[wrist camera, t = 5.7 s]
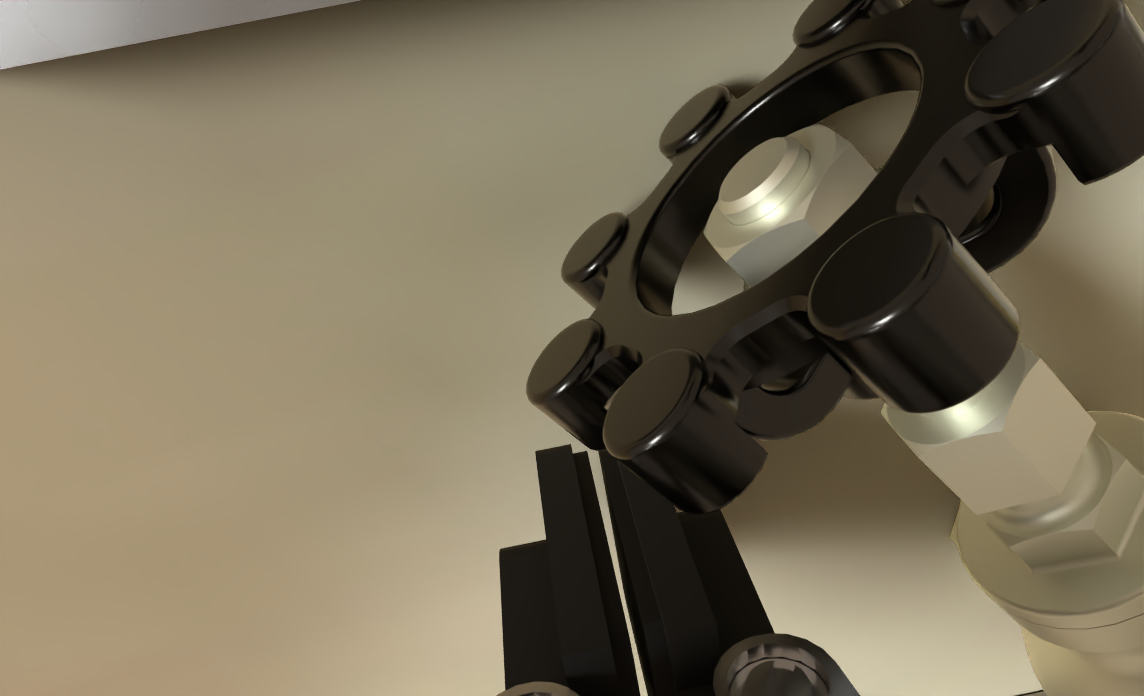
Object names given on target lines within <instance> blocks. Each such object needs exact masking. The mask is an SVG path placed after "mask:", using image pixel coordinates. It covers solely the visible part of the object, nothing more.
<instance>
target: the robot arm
mask: <svg viewBox="0 0 1144 696" xmlns="http://www.w3.org/2000/svg"><path fill="white" fill-rule="evenodd" d="M598 451H599V457H600V463H601V468H602V474H603V479H604V485H605V490H606V496H607V501H608V507H609V512H610V518H611V523H612V529H613V534H614V540H615V545H616V551H617V557H618V562H619V568H620V573H621V579H622V584H623V589H624V594H625V599H626V604H627V609H628V613H629V617H630V621H631V626H632V630H633V634H634V638H635V643H636V647H637V651H638V656H639V660H640V664H641V668H642V673H643V677H644V681H645V685H646V690H647V694H648V696H860V695H859V693H858V692H857V691H856V689H855V688H854V687H853V685H852V684H851V682H850V681H849V680H848V678H847V677H846V676H845V674H844V673H843V671H842V670H841V669H840V667H839V666H838V664H837V663H836V662H835V661H834V660H833V659H832V658H831V657H830V656H829V655H828V654H827V653H826V652H825V651H824V650H823V649H822V648H820V647H819V646H817V645H815V644H813V643H812V642H810V641H808V640H806V639H803V638H800V637H796V636H792V635H789V634H775V633H774V631H773V628H772V626H771V624H770V621H769V619H768V617H767V615H766V612H765V610H764V608H763V605H762V603H761V601H760V599H759V596H758V594H757V592H756V590H755V587H754V585H753V583H752V580H751V578H750V576H749V574H748V571H747V569H746V567H745V564H744V562H743V560H742V558H741V555H740V553H739V551H738V548H737V546H736V544H735V542H734V539H733V537H732V535H731V532H730V530H729V528H728V526H727V523H726V521H725V519H724V517H723V514H722V512H721V510H720V509H719V510H717V511H714V512H711V513H708V514H701V515H695V514H689V513H686V512H680V513H676V510H675V507H674V505H673V504H672V503H671V502H670V501H668V500H667V499H666V498H665V497H663V496H662V495H661V494H660V493H658V492H657V491H656V490H654V489H653V488H652V487H651V486H649V485H648V484H647V483H646V482H644V481H643V480H642V479H641V478H639V477H638V476H637V475H636V474H634V473H633V472H632V471H630V470H629V469H628V468H627V467H625V466H624V465H623V464H622V463H620V462H619V461H618V460H617V459H615V458H614V457H613V456H612V455H611V454H610V453H609V452H608V451H607V449H606V450H598ZM535 453H536V462H537V470H538V478H539V485H540V493H541V501H542V509H543V517H544V525H545V533H546V540H542V541H537V542H532V543H527V544H522V545H517V546H512V547H507V548H502V549H500V552H499V562H500V584H501V605H502V626H503V648H504V669H505V690H506V691H504V692H502V693H500V694H498V695H497V696H640V691H639V686H638V680H637V675H636V669H635V664H634V658H633V653H632V648H631V643H630V638H629V634H628V629H627V624H626V620H625V615H624V611H623V607H622V602H621V598H620V594H619V589H618V585H617V580H616V576H615V572H614V567H613V563H612V558H611V554H610V550H609V545H608V541H607V536H606V532H605V528H604V523H603V519H602V515H601V510H600V506H599V501H598V497H597V493H596V488H595V484H594V479H593V475H592V471H591V466H590V462H589V458H588V453H587V451H584V452H579V453H574V454H573V452H572V447H571V444H569V445H564V446H559V447H554V448H549V449H544V450H539V451H536V452H535Z"/></svg>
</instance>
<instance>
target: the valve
mask: <svg viewBox="0 0 1144 696" xmlns="http://www.w3.org/2000/svg"><path fill="white" fill-rule="evenodd" d="M793 40H794V43H795V44H796V45H797V47H796V48H795V50H794V51H793V53H792V54H791V55H790V56H789V58H788V59H787V60H786V61H785V62H784V63H783V64H782V65H781V66H780V67H779V68H778V69H777V70H775V71H774V72H773V73H772V74H770V75H769V76H768V77H767V78H765V79H764V80H763V81H761V82H760V83H759V84H758V85H756V86H755V87H754V88H753V89H751V90H750V91H749V92H747V93H746V94H745V95H743V96H741V97H740V98H738V99H736V98H735V97H734V95H733V94H732V93H731V92H730V91H729V90H728V89H727V88H726V87H725V86H722V85H714V86H711V87H709V88H707V89H705V90H703V91H701V92H700V93H698V94H697V95H695V96H694V97H693V98H692V99H690V100H689V101H688V102H687V103H686V104H685V105H684V106H683V107H682V108H681V109H680V110H679V111H678V112H677V113H676V114H675V115H674V116H673V118H672V119H671V120H670V121H669V123H668V124H667V126H666V127H665V129H664V131H663V133H662V135H661V137H660V140H659V148H660V151H661V153H662V154H663V155H664V156H665V157H666V158H667V159H668V160H669V161H670V162H671V163H672V164H673V165H672V167H671V169H670V170H669V171H668V173H667V174H666V175H665V177H664V178H663V179H662V181H661V182H660V183H659V184H658V186H657V187H656V188H655V190H654V191H653V192H652V193H651V195H650V196H649V197H648V198H647V199H646V200H645V202H644V203H643V204H642V205H641V206H639V207H638V208H637V209H636V210H635V211H633V212H632V213H631V214H629V215H628V216H626V215H625V214H623V213H620V212H615V213H610V214H608V215H606V216H604V217H602V218H601V219H599V220H598V221H596V222H595V223H594V224H593V225H591V226H590V227H589V228H588V229H587V230H586V231H585V232H584V233H583V234H582V235H581V236H580V237H579V239H578V240H577V241H576V242H575V244H574V245H573V246H572V248H571V249H570V251H569V252H568V254H567V256H566V258H565V260H564V262H563V265H562V269H561V276H562V279H563V281H564V282H565V283H566V284H567V285H568V286H569V287H571V288H572V289H573V290H574V291H575V292H576V293H577V294H579V295H580V296H581V297H582V298H583V299H584V300H586V301H587V302H588V303H589V304H590V305H591V306H592V307H593V308H595V309H596V310H595V311H594V312H593V314H592V315H591V316H590V318H589V319H583V320H580V321H577V322H575V323H573V324H571V325H570V326H568V327H567V328H565V329H564V330H563V331H562V332H560V333H559V334H558V335H557V336H556V337H555V338H554V339H553V340H552V341H551V342H550V343H549V344H548V345H547V347H546V348H545V349H544V350H543V352H542V353H541V354H540V356H539V357H538V359H537V360H536V362H535V364H534V366H533V368H532V370H531V372H530V375H529V377H528V381H527V385H526V393H527V397H528V399H529V401H530V402H531V403H532V404H533V405H534V406H536V407H537V408H538V409H539V410H541V411H542V412H543V413H545V414H546V415H547V416H548V417H550V418H551V419H552V420H553V421H555V422H556V423H557V424H559V425H560V426H561V427H562V428H564V429H565V430H566V431H567V432H569V433H570V434H571V435H573V436H574V437H575V438H576V439H578V440H579V441H580V442H582V443H583V444H584V445H585V446H587V447H588V448H590V449H592V450H596V451H597V450H606V449H607V451H608V452H609V453H610V454H611V455H612V456H613V457H614V458H615V459H617V460H618V461H619V462H620V463H622V464H623V465H624V466H625V467H627V468H628V469H629V470H630V471H632V472H633V473H634V474H636V475H637V476H638V477H639V478H641V479H642V480H643V481H644V482H646V483H647V484H648V485H649V486H651V487H652V488H653V489H654V490H656V491H657V492H658V493H660V494H661V495H662V496H663V497H665V498H666V499H667V500H668V501H670V502H671V503H672V504H673V505H675V506H676V507H677V508H678V509H680V510H682V511H683V512H686V513H689V514H695V515H701V514H708V513H711V512H714V511H717V510H719V509H721V508H723V507H725V506H727V505H728V504H730V503H732V502H733V501H734V500H735V499H736V498H738V497H739V496H740V495H741V494H743V493H744V492H745V490H746V489H747V488H748V487H749V486H750V485H751V484H752V483H753V482H754V480H755V479H756V477H757V476H758V474H759V472H760V471H761V469H762V468H763V466H764V463H765V461H766V459H767V457H768V453H767V452H766V450H765V449H764V448H763V447H761V446H760V445H759V444H758V443H757V442H756V441H755V440H754V439H757V440H764V441H775V440H784V439H789V438H792V437H795V436H797V435H800V434H802V433H805V432H807V431H808V430H810V429H812V428H813V427H815V426H816V425H817V424H819V423H820V422H821V421H822V420H823V419H824V418H825V417H826V416H827V415H828V414H829V413H830V412H831V411H832V410H833V409H834V408H835V406H836V405H837V404H838V402H839V401H840V399H841V398H842V396H845V397H848V398H852V399H862V400H870V399H877V398H881V399H882V400H883V401H884V402H885V403H884V406H883V408H882V411H881V414H882V416H883V417H884V418H885V419H886V421H887V422H888V423H889V424H890V426H891V427H892V428H893V429H894V430H895V432H896V433H897V434H898V435H899V436H900V437H901V439H902V440H903V441H904V442H905V443H906V444H907V445H908V447H909V448H910V449H911V450H912V451H913V452H914V453H915V455H916V456H917V457H918V458H919V459H920V460H921V461H922V462H923V463H924V464H925V465H926V466H927V467H928V468H929V469H930V470H931V471H932V472H933V473H934V474H935V475H937V476H938V477H939V478H940V479H941V480H942V481H943V482H944V483H945V484H946V485H947V486H948V487H949V488H950V489H951V490H952V491H953V492H954V493H955V494H956V495H957V496H958V497H959V498H960V499H961V501H960V505H959V509H958V513H957V517H956V520H955V522H954V525H953V529H952V532H951V535H950V537H951V538H952V540H953V541H954V542H955V543H956V545H957V546H958V549H959V553H960V556H961V560H962V563H963V564H964V566H965V568H966V570H967V571H968V573H969V575H970V576H971V578H972V580H973V581H974V582H975V583H976V584H977V585H978V586H979V587H980V588H981V589H982V590H983V591H984V592H985V593H986V594H987V595H988V596H989V597H990V598H991V599H992V600H993V601H994V602H996V603H997V604H998V605H999V606H1000V607H1001V608H1002V609H1003V610H1004V611H1005V612H1007V613H1008V614H1009V615H1010V616H1011V617H1012V618H1013V619H1014V620H1015V621H1016V622H1017V623H1018V624H1019V625H1021V626H1022V632H1023V636H1024V641H1025V645H1026V650H1027V654H1028V657H1029V659H1030V662H1031V665H1032V667H1033V670H1034V672H1035V674H1036V676H1037V678H1038V680H1039V682H1040V684H1041V686H1042V688H1043V690H1044V692H1045V693H1046V695H1047V696H1144V418H1142V417H1139V416H1136V415H1133V414H1127V413H1121V412H1115V411H1085V409H1084V408H1083V407H1082V406H1081V405H1080V403H1079V402H1078V401H1077V400H1076V399H1075V398H1074V396H1073V395H1072V394H1071V393H1070V392H1069V391H1068V389H1067V388H1066V387H1065V386H1064V385H1063V383H1062V382H1061V381H1060V380H1059V379H1058V378H1057V376H1056V375H1055V374H1054V373H1053V372H1052V371H1051V369H1050V368H1049V367H1048V366H1047V365H1046V363H1045V362H1044V361H1043V360H1042V359H1041V358H1040V357H1039V356H1038V355H1037V354H1035V353H1034V352H1033V351H1032V350H1031V349H1029V348H1028V347H1027V346H1026V345H1024V344H1023V343H1022V342H1021V341H1019V340H1018V337H1019V333H1020V327H1019V316H1018V313H1017V311H1016V309H1015V307H1014V305H1013V303H1012V302H1011V301H1010V300H1009V298H1008V297H1007V296H1006V295H1005V294H1004V293H1003V291H1002V290H1001V289H1000V288H999V287H998V285H997V284H996V283H995V282H994V281H993V279H992V278H991V277H990V276H989V275H988V273H989V272H991V271H993V270H995V269H997V268H999V267H1001V266H1003V265H1005V264H1006V263H1007V262H1009V261H1010V260H1012V259H1013V258H1014V257H1016V256H1017V255H1018V254H1020V253H1021V252H1022V251H1023V250H1024V249H1025V248H1026V247H1027V246H1028V245H1029V244H1030V243H1031V242H1032V241H1033V240H1034V239H1035V238H1036V237H1037V236H1038V234H1039V232H1040V231H1041V229H1042V228H1043V226H1044V224H1045V223H1046V221H1047V220H1048V218H1049V216H1050V213H1051V210H1052V207H1053V204H1054V201H1055V197H1056V191H1057V173H1056V168H1055V163H1054V158H1053V153H1052V148H1051V145H1053V146H1054V148H1055V149H1056V150H1057V152H1058V153H1059V155H1060V156H1061V157H1062V159H1063V160H1064V162H1065V163H1066V164H1067V166H1068V167H1069V168H1070V170H1071V171H1072V173H1073V174H1074V175H1075V177H1076V178H1077V179H1078V181H1080V182H1081V183H1082V184H1084V185H1088V184H1091V183H1094V182H1096V181H1099V180H1102V179H1104V178H1106V177H1108V176H1111V175H1113V174H1115V173H1117V172H1119V171H1121V170H1122V169H1124V168H1126V167H1127V166H1129V165H1131V164H1132V163H1134V162H1135V161H1137V160H1138V159H1139V158H1141V157H1142V156H1143V155H1144V32H1143V31H1142V29H1141V27H1140V26H1139V24H1138V23H1137V21H1136V19H1135V18H1134V16H1133V15H1132V13H1131V11H1130V10H1129V8H1128V7H1127V5H1126V3H1125V2H1124V0H913V1H911V2H910V3H908V4H907V5H904V4H903V3H902V1H901V0H814V1H813V2H812V3H811V4H810V5H809V6H808V7H807V9H806V10H805V11H804V12H803V14H802V15H801V17H800V18H799V20H798V21H797V23H796V25H795V28H794V31H793ZM902 90H916V91H920V92H919V97H918V101H917V104H916V108H915V111H914V113H913V116H912V118H911V120H910V123H909V125H908V127H907V129H906V131H905V133H904V135H903V136H902V138H901V140H900V142H899V144H898V145H897V147H896V148H895V150H894V151H893V153H892V155H891V156H890V158H889V159H888V161H887V162H886V164H885V165H884V166H883V167H882V169H873V168H872V167H871V165H870V164H869V163H868V162H867V161H866V160H865V158H864V157H863V156H862V155H861V154H860V152H859V151H858V150H857V149H856V148H855V147H854V145H853V144H852V143H850V142H849V141H848V140H846V139H845V138H843V137H842V136H841V135H839V134H838V133H836V132H835V131H833V130H831V129H830V128H828V127H826V126H823V125H821V124H815V123H817V122H819V121H820V120H822V119H824V118H826V117H827V116H829V115H831V114H833V113H835V112H837V111H839V110H841V109H843V108H845V107H847V106H850V105H852V104H855V103H857V102H860V101H863V100H865V99H868V98H871V97H873V96H876V95H882V94H887V93H892V92H897V91H902ZM705 225H706V227H705ZM704 227H705V229H704V232H703V233H704V235H705V237H706V238H707V239H708V241H709V242H710V243H711V245H712V246H713V247H714V248H715V250H716V251H717V252H718V253H719V255H720V256H721V257H722V258H723V259H724V261H725V262H726V263H727V264H728V265H729V266H730V267H731V268H732V269H733V270H734V271H735V272H736V273H737V274H738V275H739V276H740V277H741V278H742V279H743V280H744V281H745V282H744V291H743V292H742V293H740V294H738V295H736V296H734V297H732V298H729V299H727V300H725V301H723V302H721V303H719V304H717V305H715V306H712V307H709V308H705V309H702V310H699V311H696V312H693V313H688V314H680V315H673V316H672V309H671V307H672V301H673V294H674V288H675V284H676V282H677V279H678V276H679V273H680V271H681V268H682V265H683V263H684V261H685V259H686V257H687V255H688V253H689V251H690V249H691V247H692V246H693V244H694V242H695V241H696V239H697V237H698V236H699V234H700V233H701V231H702V230H703V228H704ZM761 385H762V386H761Z"/></svg>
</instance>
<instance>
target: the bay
mask: <svg viewBox="0 0 1144 696" xmlns="http://www.w3.org/2000/svg"><path fill="white" fill-rule="evenodd" d="M355 1H360V0H0V69H6V68H11V67H16V66H21V65H26V64H32V63H37V62H42V61H47V60H53V59H58V58H63V57H68V56H73V55H79V54H84V53H89V52H94V51H99V50H105V49H110V48H115V47H120V46H125V45H131V44H136V43H141V42H146V41H151V40H157V39H162V38H167V37H172V36H178V35H183V34H188V33H193V32H198V31H204V30H209V29H214V28H219V27H224V26H230V25H235V24H240V23H245V22H250V21H256V20H261V19H266V18H271V17H276V16H282V15H287V14H292V13H297V12H302V11H308V10H313V9H318V8H323V7H329V6H334V5H339V4H344V3H349V2H355ZM1024 696H1047V695H1046V693H1045V692H1044V691H1043V692H1038V693H1033V694H1029V695H1024Z"/></svg>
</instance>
